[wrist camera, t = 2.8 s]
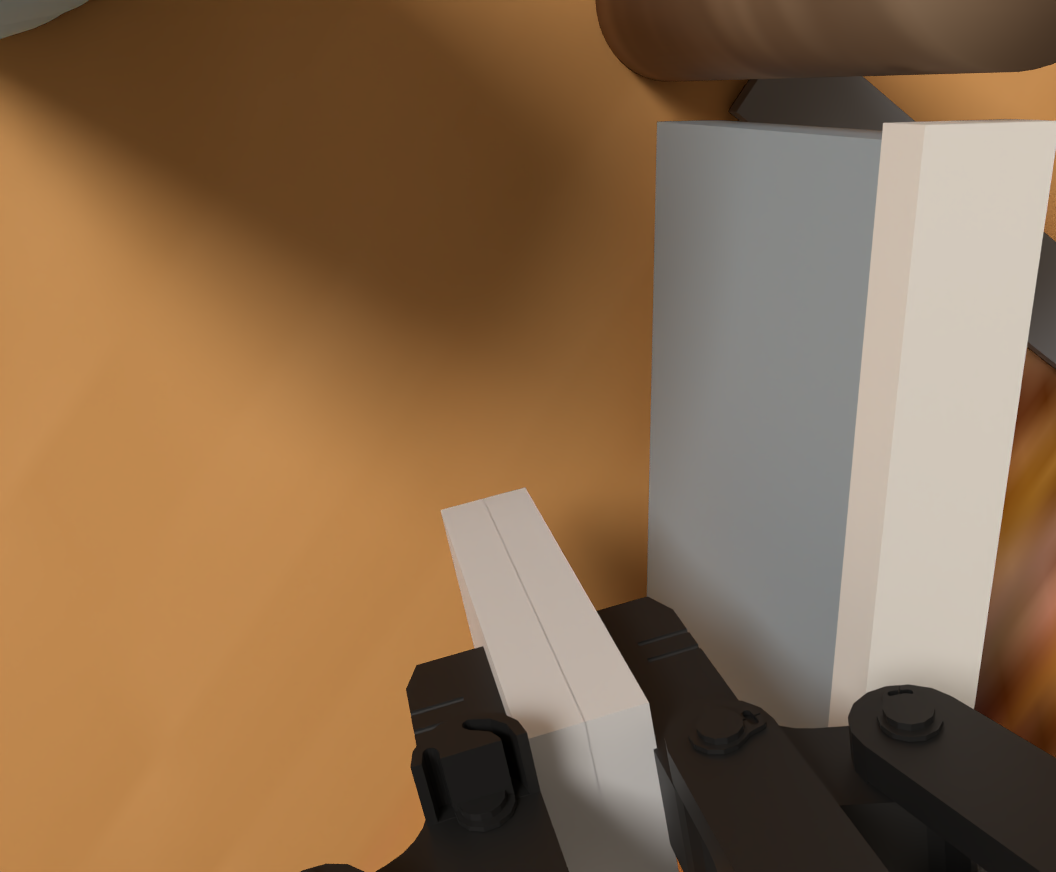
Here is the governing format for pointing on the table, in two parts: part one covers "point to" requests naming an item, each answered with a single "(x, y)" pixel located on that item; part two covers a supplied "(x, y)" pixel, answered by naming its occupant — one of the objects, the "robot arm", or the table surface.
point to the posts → (838, 64)
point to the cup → (31, 13)
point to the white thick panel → (838, 397)
